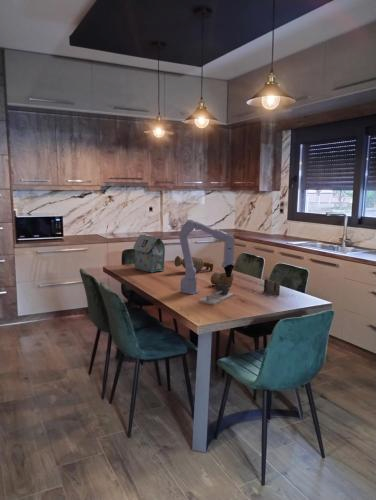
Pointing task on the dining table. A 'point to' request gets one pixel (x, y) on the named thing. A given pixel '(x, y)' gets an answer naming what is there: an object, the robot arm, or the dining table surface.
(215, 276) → the brown lobed block
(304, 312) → the dining table surface
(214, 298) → the rail board
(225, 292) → the collar
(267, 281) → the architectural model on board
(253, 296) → the dining table surface
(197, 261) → the olive brown long piece
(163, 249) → the lunch bag
